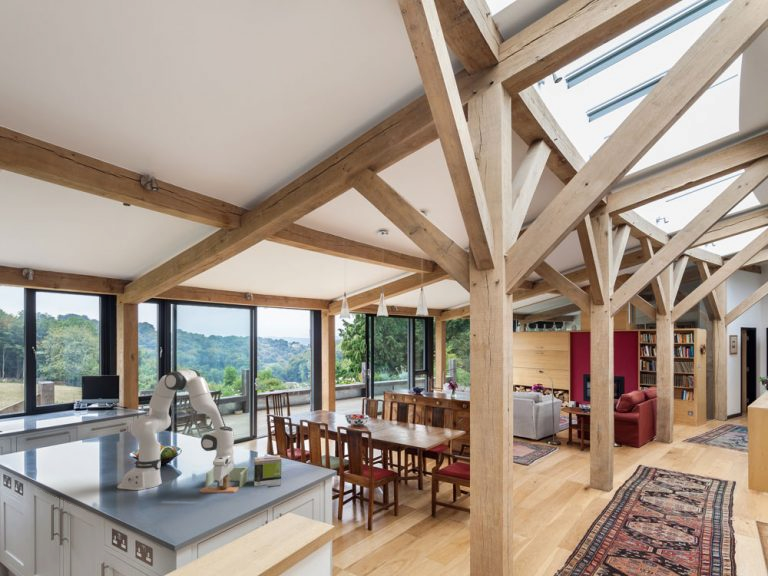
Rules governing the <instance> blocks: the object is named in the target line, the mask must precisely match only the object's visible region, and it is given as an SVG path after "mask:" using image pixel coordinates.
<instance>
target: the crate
mask: <svg viewBox="0 0 768 576" xmlns="http://www.w3.org/2000/svg"><path fill="white" fill-rule="evenodd" d="M249 468H250V467H248V466H244V467H243V466H234V468H233V470H232V471H231V472H230V473H229V476H230V482H231V481H233V482H237V481H239V485H238V487H239V488H242V487H243V486H244V485H245V484H246V483H247V482H248V481H249V473H250V472H249V471H250V469H249ZM205 475H206V476H205V487H210V486H211V485H212V484H213V483H215V482H216V481H217V482H218V480H214V478H213V468H211V469H210V470H209V471H207V472H206V474H205Z"/></svg>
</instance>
